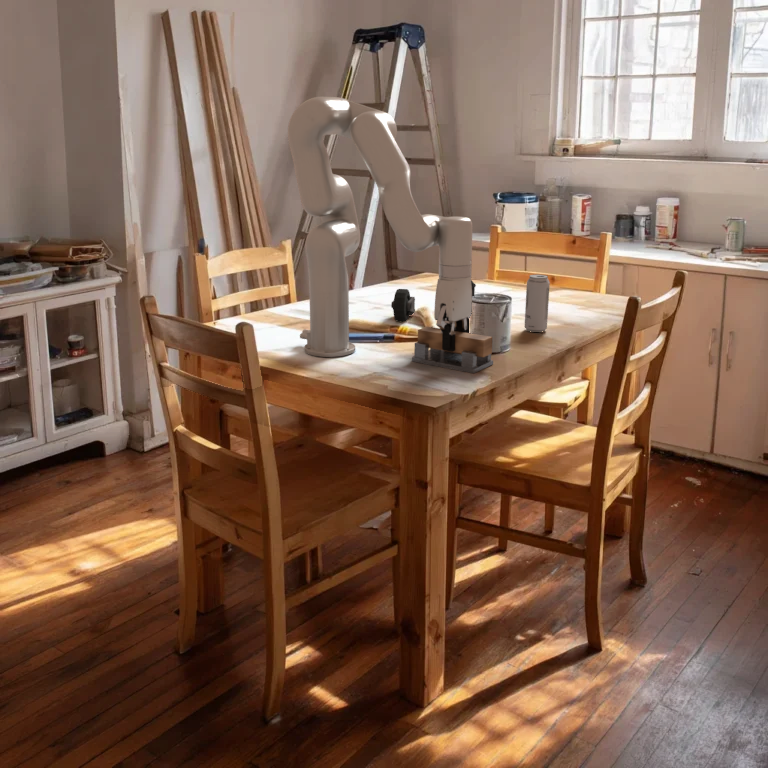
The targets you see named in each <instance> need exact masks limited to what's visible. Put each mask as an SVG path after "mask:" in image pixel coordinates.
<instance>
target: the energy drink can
mask: <svg viewBox="0 0 768 768" xmlns="http://www.w3.org/2000/svg"><path fill="white" fill-rule="evenodd" d="M550 284H551V282H550V280H549V278H548V275H546V274H539V273H537V274H530V275H529V277H528V279H527V281H526V291H525V292H526V293H525V311H524V329H525V330H527V331H531V332H542V331H546V330H547V329H548V317H549V300H550V299H549V298H550V286H551V285H550ZM527 331H526V332H527Z"/></svg>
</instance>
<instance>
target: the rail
mask: <svg viewBox="0 0 768 768" xmlns="http://www.w3.org/2000/svg"><path fill="white" fill-rule="evenodd" d="M454 335H455V351H453V352H452V351H448V352H451V353H456V354H461V355H462V351H465V350H466V351H472V352H477V353H476V357H477V356H478V357H485V356H488V355H490V354H491V355H492V353H493V336H488V335H483V334H476V333H473V334H471V333H465V332H458V331H454ZM417 342H422V343H428V344H429V349H430V348H432V349H438V350H443V349H442V333H441V329H440V328H439V327H433V326H425V327H422V328H420V329H417ZM444 351H445V352H447V351H446V350H444Z"/></svg>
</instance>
